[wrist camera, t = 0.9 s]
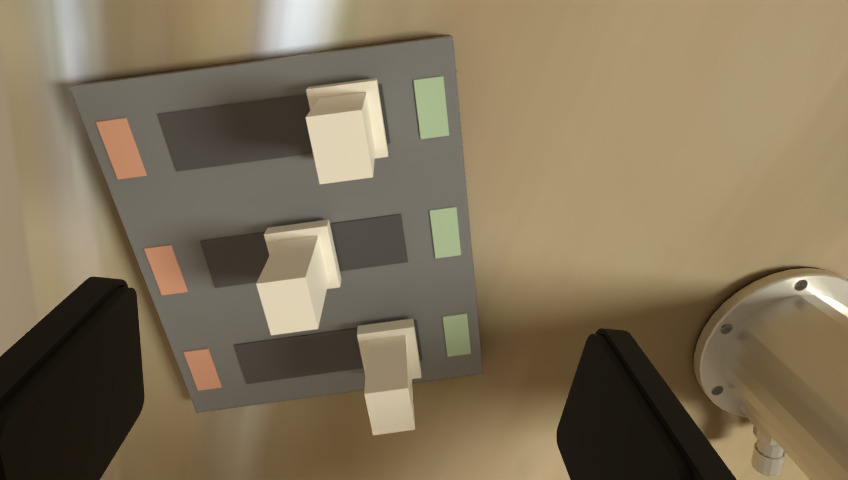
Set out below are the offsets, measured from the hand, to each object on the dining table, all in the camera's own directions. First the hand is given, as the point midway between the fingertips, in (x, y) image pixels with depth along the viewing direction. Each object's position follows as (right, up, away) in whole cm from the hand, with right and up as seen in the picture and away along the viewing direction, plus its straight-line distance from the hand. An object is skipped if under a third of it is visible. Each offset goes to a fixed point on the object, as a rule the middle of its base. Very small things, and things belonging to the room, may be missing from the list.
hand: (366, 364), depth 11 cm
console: (-6, +3, +22) cm, 23 cm away
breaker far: (-1, -4, +23) cm, 24 cm away
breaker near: (-3, +9, +17) cm, 20 cm away
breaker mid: (-6, +2, +20) cm, 21 cm away
